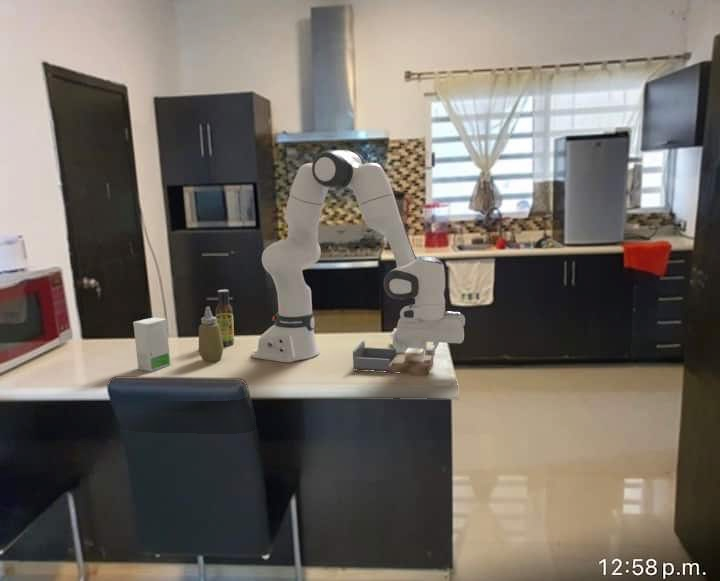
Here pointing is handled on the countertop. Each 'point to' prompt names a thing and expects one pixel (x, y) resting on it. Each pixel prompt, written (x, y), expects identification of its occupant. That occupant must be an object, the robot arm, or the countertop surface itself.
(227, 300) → the sauce bottle
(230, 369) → the countertop surface
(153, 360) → the skincare box
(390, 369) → the box
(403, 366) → the bench plate
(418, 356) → the tile
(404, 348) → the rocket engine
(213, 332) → the squeeze bottle
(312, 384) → the countertop surface
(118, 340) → the countertop surface
